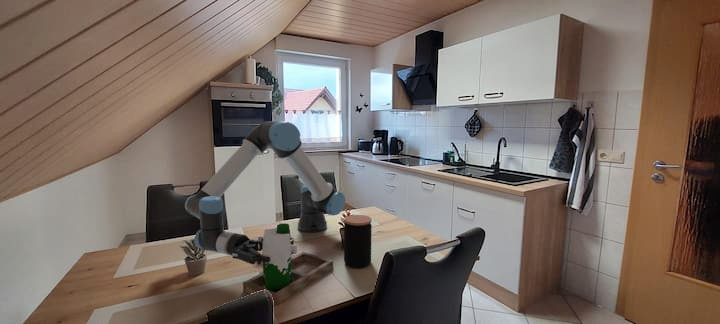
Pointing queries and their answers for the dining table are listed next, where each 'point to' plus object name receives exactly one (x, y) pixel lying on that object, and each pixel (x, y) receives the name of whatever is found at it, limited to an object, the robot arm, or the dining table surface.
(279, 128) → the robot arm
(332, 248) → the dining table surface
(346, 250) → the coffee jar
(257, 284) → the walnut slot rack
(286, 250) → the fresh milk carton
